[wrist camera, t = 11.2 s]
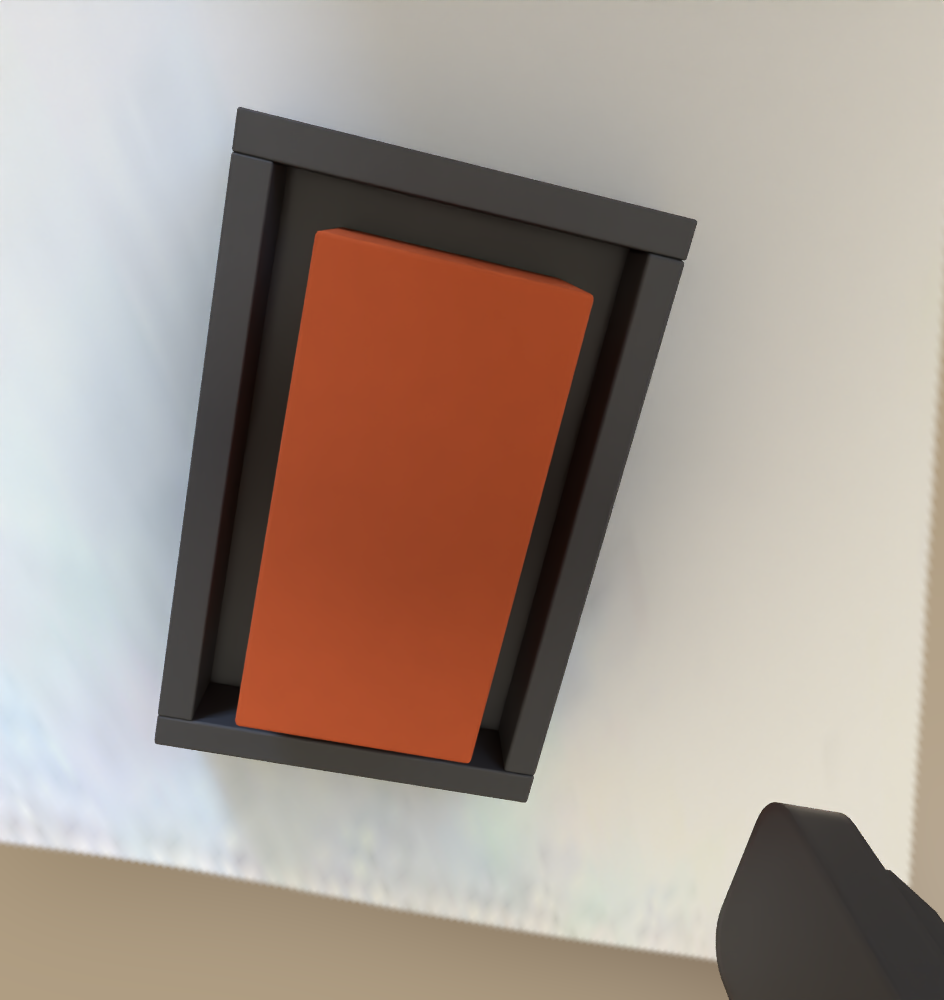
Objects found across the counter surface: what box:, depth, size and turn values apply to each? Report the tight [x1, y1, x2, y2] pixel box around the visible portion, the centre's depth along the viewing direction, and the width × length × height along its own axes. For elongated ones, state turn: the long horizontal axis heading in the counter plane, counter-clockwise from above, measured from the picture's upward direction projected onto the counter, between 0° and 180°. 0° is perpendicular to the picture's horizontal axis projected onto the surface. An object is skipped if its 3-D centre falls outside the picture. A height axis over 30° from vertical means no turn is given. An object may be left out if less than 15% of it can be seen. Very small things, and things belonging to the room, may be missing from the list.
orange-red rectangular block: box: [235, 227, 593, 763], centre depth 18 cm, size 10×5×4 cm, turn 167°
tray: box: [155, 107, 697, 802], centre depth 20 cm, size 14×9×2 cm, turn 167°
